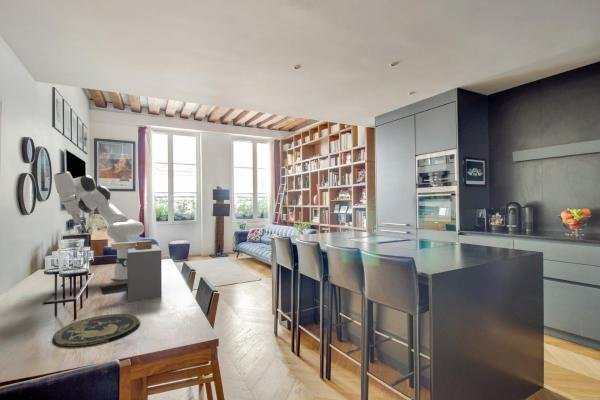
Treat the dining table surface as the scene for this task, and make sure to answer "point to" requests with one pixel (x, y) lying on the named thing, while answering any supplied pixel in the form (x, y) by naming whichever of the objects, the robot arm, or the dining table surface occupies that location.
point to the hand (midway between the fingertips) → (78, 222)
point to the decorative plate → (96, 330)
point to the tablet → (114, 289)
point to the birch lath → (123, 245)
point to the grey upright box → (144, 273)
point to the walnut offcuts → (144, 244)
